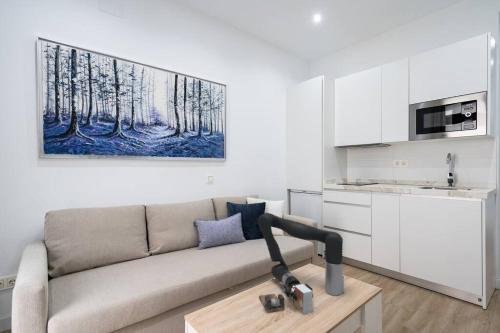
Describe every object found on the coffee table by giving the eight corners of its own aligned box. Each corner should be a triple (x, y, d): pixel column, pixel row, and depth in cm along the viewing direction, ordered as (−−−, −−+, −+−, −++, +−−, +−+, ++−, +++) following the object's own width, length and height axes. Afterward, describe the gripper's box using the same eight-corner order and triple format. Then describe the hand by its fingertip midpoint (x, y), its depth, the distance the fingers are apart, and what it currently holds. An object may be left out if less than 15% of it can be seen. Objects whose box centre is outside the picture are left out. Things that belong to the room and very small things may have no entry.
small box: (293, 305, 125) (294, 285, 124) (302, 303, 127) (303, 283, 127) (303, 314, 117) (303, 293, 117) (312, 312, 119) (312, 290, 119)
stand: (274, 295, 134) (274, 284, 134) (284, 310, 120) (284, 298, 120) (259, 297, 132) (259, 286, 132) (267, 313, 118) (267, 300, 118)
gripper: (279, 277, 134) (291, 291, 118) (302, 274, 138) (317, 288, 122) (278, 290, 134) (291, 307, 119) (302, 287, 138) (317, 303, 122)
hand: (304, 297), depth 120 cm, fingers open, 8 cm apart
